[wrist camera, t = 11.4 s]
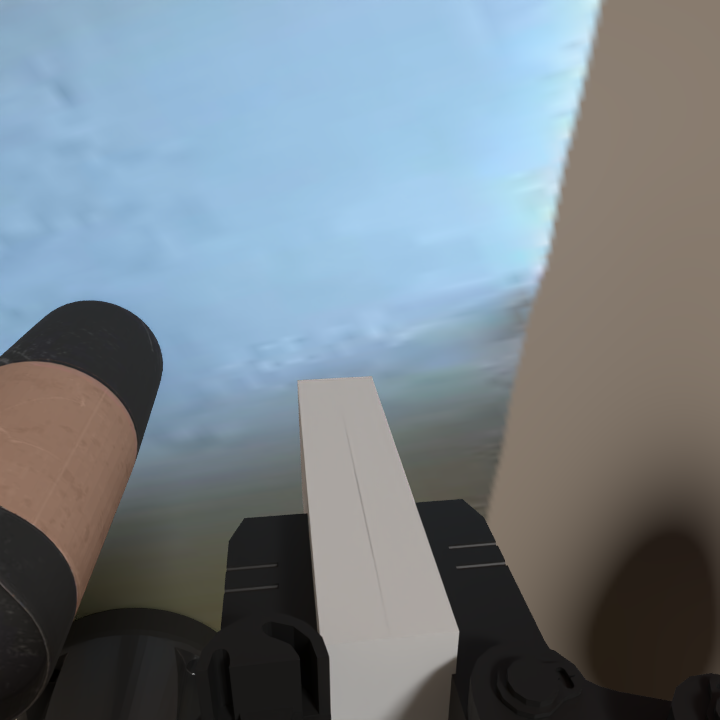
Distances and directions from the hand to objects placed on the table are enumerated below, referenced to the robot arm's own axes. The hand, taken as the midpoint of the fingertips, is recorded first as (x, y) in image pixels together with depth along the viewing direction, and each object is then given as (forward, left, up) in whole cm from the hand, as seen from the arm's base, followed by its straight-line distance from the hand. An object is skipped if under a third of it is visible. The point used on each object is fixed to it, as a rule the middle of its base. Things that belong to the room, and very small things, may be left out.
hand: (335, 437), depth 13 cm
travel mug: (-8, +11, -23) cm, 27 cm away
